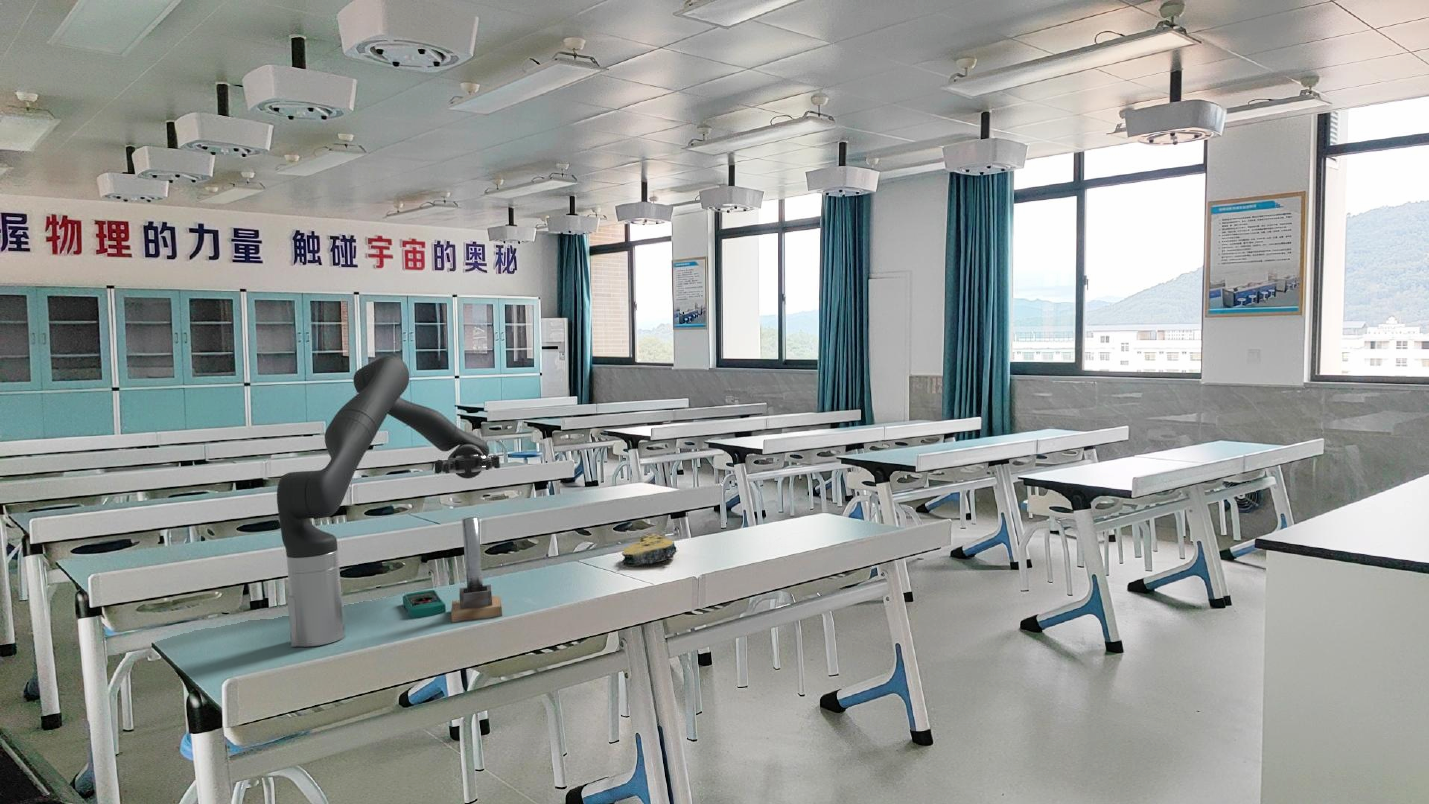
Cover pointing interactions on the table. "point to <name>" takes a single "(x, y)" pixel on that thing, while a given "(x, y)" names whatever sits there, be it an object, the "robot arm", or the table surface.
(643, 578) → the table surface
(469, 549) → the rod
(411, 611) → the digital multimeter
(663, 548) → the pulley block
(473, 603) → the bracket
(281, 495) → the robot arm
